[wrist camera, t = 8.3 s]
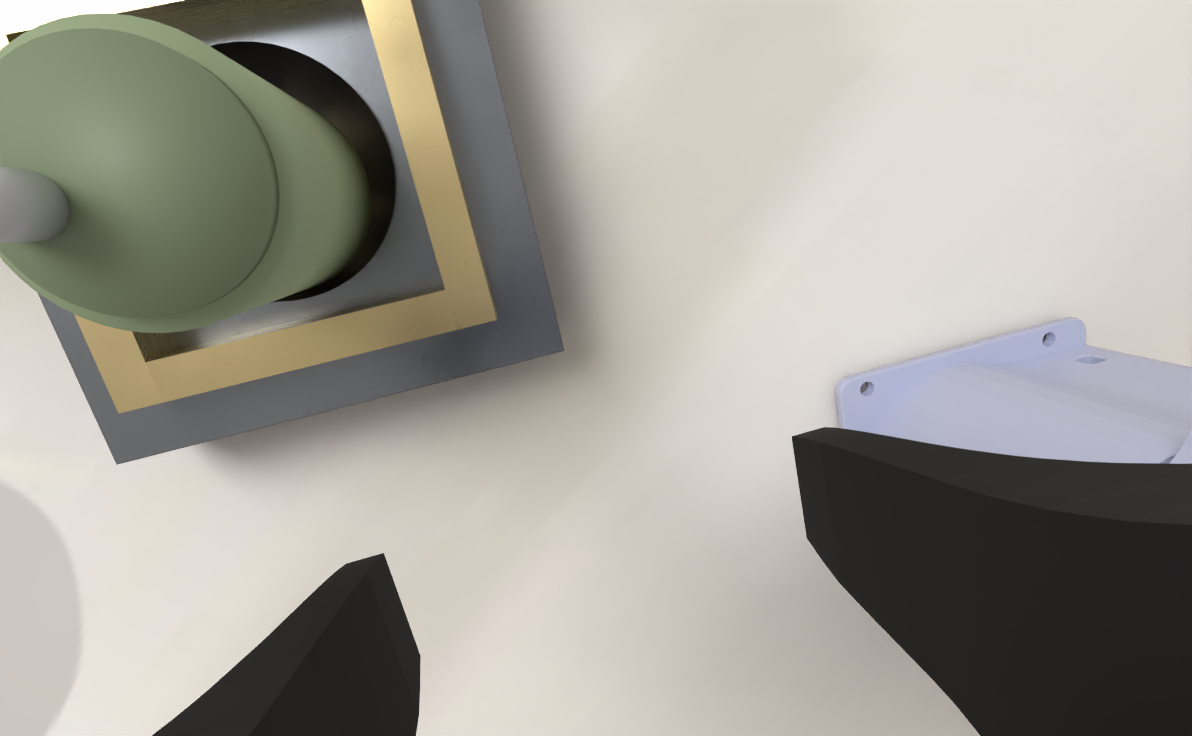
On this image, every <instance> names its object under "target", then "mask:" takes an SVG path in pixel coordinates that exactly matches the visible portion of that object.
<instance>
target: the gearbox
mask: <svg viewBox="0 0 1192 736" xmlns="http://www.w3.org/2000/svg"><path fill="white" fill-rule="evenodd" d="M99 13H110V14H120V15H131V16H135V17H140V18H144V19H149V20H153V21H156V22H159V23H162V24H165V25H168V26H171V27H173V28H176V29H178V30H180V31H182V32H185V33H187V34H189V35H191V36H193V37H195V38H197V39H199V40H200V41H202V42H204V43H205V44H207V45H209V46H210V47H212V48H213V49H215V50H217V51H218V52H220V53H222V54H223V55H225V56H226V57H228V58H230V59H231V60H233V61H235V62H236V63H238V64H240V65H241V66H243V67H244V68H246V69H248V70H249V71H251V72H253V73H254V74H256V75H257V76H259V77H261V78H262V79H264V80H266V81H267V82H269V83H270V84H272V85H274V86H275V87H277V88H279V89H280V90H282V91H284V92H285V93H287V94H288V95H290V96H292V97H293V98H295V99H297V100H298V101H300V102H301V103H303V104H305V105H306V106H308V107H310V108H311V109H313V110H314V111H316V112H318V113H319V114H321V115H322V116H324V117H325V118H327V119H328V120H329V121H330V122H331V123H333V124H334V125H335V126H336V127H337V128H338V129H339V130H340V131H341V132H342V133H343V134H344V135H345V136H346V137H347V139H348V140H349V141H350V143H351V144H352V145H353V147H354V148H355V150H356V152H357V153H358V155H359V157H360V158H361V161H362V163H363V165H364V168H365V170H366V173H367V176H368V180H369V183H370V189H371V195H372V213H371V221H370V225H369V230H368V233H367V236H366V238H365V241H364V243H363V245H362V247H361V248H360V250H359V252H358V254H357V255H356V256H355V257H354V259H353V260H352V261H351V263H350V264H349V265H348V266H347V267H345V268H344V269H343V270H342V271H341V272H340V273H338V274H337V275H336V276H334V277H333V278H331V279H329V280H327V281H326V282H324V283H322V284H319V285H317V286H314V287H311V288H308V289H306V290H303V291H300V292H297V293H295V294H292V295H289V296H286V297H284V298H281V299H278V300H275V301H273V302H270V303H267V304H265V305H262V306H259V307H256V308H254V309H251V310H248V311H245V312H243V313H240V314H237V315H234V316H232V317H229V318H226V319H223V320H221V321H218V322H215V323H212V324H210V325H207V326H204V327H200V328H196V329H191V330H187V331H180V332H170V333H141V332H134V331H127V330H120V329H116V328H112V327H108V326H104V325H100V324H98V323H95V322H92V321H90V320H87V319H84V318H82V317H79V316H77V315H75V314H73V313H71V312H69V311H67V310H65V309H63V308H61V307H59V306H58V305H56V304H54V303H53V302H51V301H50V300H48V299H47V298H45V297H43V296H42V295H40V294H39V293H38V294H39V297H40V299H41V301H42V303H43V305H44V307H45V310H46V312H47V314H48V316H49V318H50V320H51V323H52V325H53V327H54V329H55V331H56V334H57V336H58V338H59V340H60V342H61V344H62V347H63V349H64V351H65V353H66V355H67V357H68V360H69V362H70V364H71V366H72V368H73V370H74V373H75V375H76V377H77V379H78V381H79V384H80V386H81V388H82V390H83V392H84V394H85V397H86V399H87V401H88V403H89V405H90V407H91V410H92V412H93V414H94V416H95V418H96V421H97V423H98V425H99V427H100V429H101V431H102V434H103V436H104V438H105V440H106V442H107V444H108V447H109V449H110V451H111V453H112V455H113V458H114V460H115V462H116V464H121V463H125V462H129V461H133V460H137V459H141V458H144V457H148V456H152V455H156V454H160V453H164V452H168V451H172V450H176V449H180V448H184V447H188V446H192V445H196V444H199V443H203V442H207V441H211V440H215V439H219V438H223V437H227V436H231V435H235V434H239V433H243V432H247V431H251V430H255V429H258V428H262V427H266V426H270V425H274V424H278V423H282V422H286V421H290V420H294V419H298V418H302V417H306V416H310V415H313V414H317V413H321V412H325V411H329V410H333V409H337V408H341V407H345V406H349V405H353V404H357V403H361V402H365V401H369V400H372V399H376V398H380V397H384V396H388V395H392V394H396V393H400V392H404V391H408V390H412V389H416V388H420V387H424V386H427V385H431V384H435V383H439V382H443V381H447V380H451V379H455V378H459V377H463V376H467V375H471V374H475V373H479V372H483V371H486V370H490V369H494V368H498V367H502V366H506V365H510V364H514V363H518V362H522V361H526V360H530V359H534V358H538V357H542V356H545V355H549V354H553V353H557V352H561V351H564V348H563V344H562V339H561V335H560V331H559V327H558V323H557V319H556V315H555V311H554V307H553V303H552V299H551V295H550V290H549V286H548V282H547V278H546V274H545V270H544V266H543V262H542V258H541V254H540V250H539V246H538V241H537V237H536V233H535V229H534V225H533V221H532V217H531V213H530V209H529V205H528V201H527V197H526V192H525V188H524V184H523V180H522V176H521V172H520V168H519V164H518V160H517V156H516V152H515V148H514V143H513V139H512V135H511V131H510V127H509V123H508V119H507V115H506V111H505V107H504V103H503V99H502V95H501V90H500V86H499V82H498V78H497V74H496V70H495V66H494V62H493V58H492V54H491V50H490V46H489V41H488V37H487V33H486V29H485V25H484V21H483V17H482V13H481V9H480V5H479V1H478V0H0V50H1V49H2V48H3V47H5V46H6V45H7V44H9V43H10V42H11V41H13V40H14V39H16V38H17V37H18V36H20V35H21V34H23V33H25V32H27V31H29V30H31V29H33V28H35V27H37V26H39V25H41V24H44V23H48V22H51V21H54V20H57V19H60V18H64V17H70V16H76V15H81V14H99Z"/></svg>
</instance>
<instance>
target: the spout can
mask: <svg viewBox="0 0 1192 736" xmlns="http://www.w3.org/2000/svg"><path fill="white" fill-rule="evenodd" d="M371 213H372V195H371V189H370V183H369V180H368V176H367V173H366V170H365V168H364V165H363V163H362V161H361V158H360V157H359V155H358V153H357V152H356V150H355V148H354V147H353V145H352V144H351V143H350V141H349V140H348V139H347V137H346V136H345V135H344V134H343V133H342V132H341V131H340V130H339V129H338V128H337V127H336V126H335V125H334V124H333V123H331V122H330V121H329V120H328V119H327V118H325V117H324V116H322V115H321V114H319V113H318V112H316V111H314V110H313V109H311V108H310V107H308V106H306V105H305V104H303V103H301V102H300V101H298V100H297V99H295V98H293V97H292V96H290V95H288V94H287V93H285V92H284V91H282V90H280V89H279V88H277V87H275V86H274V85H272V84H270V83H269V82H267V81H266V80H264V79H262V78H261V77H259V76H257V75H256V74H254V73H253V72H251V71H249V70H248V69H246V68H244V67H243V66H241V65H240V64H238V63H236V62H235V61H233V60H231V59H230V58H228V57H226V56H225V55H223V54H222V53H220V52H218V51H217V50H215V49H213V48H212V47H210V46H209V45H207V44H205V43H204V42H202V41H200V40H199V39H197V38H195V37H193V36H191V35H189V34H187V33H185V32H182V31H180V30H178V29H176V28H173V27H171V26H168V25H165V24H162V23H159V22H156V21H153V20H149V19H144V18H140V17H135V16H131V15H120V14H110V13H99V14H81V15H76V16H70V17H64V18H60V19H57V20H54V21H51V22H48V23H44V24H41V25H39V26H37V27H35V28H33V29H31V30H29V31H27V32H25V33H23V34H21V35H20V36H18V37H17V38H16V39H14V40H13V41H11V42H10V43H9V44H7V45H6V46H5V47H3V48H2V49H1V50H0V257H1V258H2V259H3V261H4V262H5V263H6V264H7V265H8V266H9V267H10V268H11V269H12V270H13V271H14V272H15V273H16V274H17V275H18V276H19V277H20V278H21V279H22V280H23V281H24V282H25V283H27V284H28V285H29V286H30V287H32V288H33V289H34V290H35V291H37V292H38V293H39V294H40V295H42V296H43V297H45V298H47V299H48V300H50V301H51V302H53V303H54V304H56V305H58V306H59V307H61V308H63V309H65V310H67V311H69V312H71V313H73V314H75V315H77V316H79V317H82V318H84V319H87V320H90V321H92V322H95V323H98V324H100V325H104V326H108V327H112V328H116V329H120V330H127V331H134V332H141V333H170V332H180V331H187V330H191V329H196V328H200V327H204V326H207V325H210V324H212V323H215V322H218V321H221V320H223V319H226V318H229V317H232V316H234V315H237V314H240V313H243V312H245V311H248V310H251V309H254V308H256V307H259V306H262V305H265V304H267V303H270V302H273V301H275V300H278V299H281V298H284V297H286V296H289V295H292V294H295V293H297V292H300V291H303V290H306V289H308V288H311V287H314V286H317V285H319V284H322V283H324V282H326V281H327V280H329V279H331V278H333V277H334V276H336V275H337V274H338V273H340V272H341V271H342V270H343V269H344V268H345V267H347V266H348V265H349V264H350V263H351V261H352V260H353V259H354V257H355V256H356V255H357V254H358V252H359V250H360V248H361V247H362V245H363V243H364V241H365V238H366V236H367V233H368V230H369V225H370V221H371Z"/></svg>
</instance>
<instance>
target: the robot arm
mask: <svg viewBox="0 0 1192 736" xmlns="http://www.w3.org/2000/svg"><path fill="white" fill-rule="evenodd" d="M1045 334H1046V340H1045V341H1044V342H1042V340H1043V337H1044V335H1045ZM865 382H867V383H868V387H867V389H866V391H865V392H863V393H861V392H860V388H861V386H862V384H863V383H865ZM835 396H836V403H837V411H838V419H839V426H840V428H827V427H824V428H820V429H817V430H813V431H810V432H806V433H803V434H799V435H796V436H792V441H793V448H794V455H795V462H796V468H797V475H798V482H799V488H800V495H801V502H802V509H803V515H804V522H805V529H806V535H807V539H808V540H809V542H810V543H811V545H812V546H813V548H814V549H815V550H816V552H817V553H818V555H819V556H820V557H821V559H822V560H823V562H824V563H825V564H826V566H827V567H828V568H829V570H830V571H831V572H832V574H833V575H834V576H835V578H836V579H837V580H838V582H839V583H840V584H841V585H842V586H843V587H844V588H845V589H846V590H847V591H848V593H849V594H850V595H851V596H852V597H853V598H854V599H855V600H856V601H857V602H858V603H859V604H860V605H861V606H862V607H863V608H864V609H865V610H866V611H867V612H868V613H869V615H870V616H871V617H872V618H873V619H874V620H875V621H876V622H877V623H878V624H879V625H880V626H881V627H882V628H883V629H884V630H885V631H886V632H887V633H888V634H889V635H890V636H891V637H892V638H893V639H894V640H895V641H896V642H897V643H898V644H899V645H900V646H901V647H902V648H903V649H904V650H905V652H906V653H907V654H908V655H909V656H910V657H911V658H912V659H913V660H914V661H915V662H916V663H917V664H918V665H919V666H920V667H921V668H922V669H923V670H924V671H925V672H926V673H927V674H928V675H929V676H930V677H931V678H932V679H933V680H934V681H935V682H936V684H937V685H938V686H939V687H940V688H941V689H942V690H943V691H944V692H945V694H946V695H947V696H948V697H949V698H950V699H951V700H952V701H953V702H954V704H955V705H956V706H957V707H958V708H959V709H960V711H961V712H962V713H963V714H964V716H965V717H966V718H967V719H968V721H969V722H970V723H971V724H972V726H973V727H974V728H975V729H976V731H977V732H978V733H979V734H980V736H1192V367H1187V366H1182V365H1178V364H1173V363H1168V362H1164V361H1159V360H1154V359H1149V358H1145V357H1140V356H1135V355H1130V354H1126V353H1121V352H1116V351H1112V350H1107V349H1102V348H1097V347H1093V346H1088V345H1086V333H1085V325H1084V323H1083V322H1082V321H1081V320H1079V319H1076V318H1063V319H1059V320H1055V321H1051V322H1048V323H1044V324H1040V325H1037V326H1033V327H1029V328H1025V329H1022V330H1018V331H1014V332H1011V333H1007V334H1003V335H999V336H996V337H992V338H988V339H985V340H981V341H977V342H973V343H970V344H966V345H962V346H959V347H955V348H951V349H947V350H944V351H940V352H936V353H933V354H929V355H925V356H921V357H918V358H914V359H910V360H907V361H903V362H899V363H896V364H892V365H888V366H884V367H881V368H877V369H873V370H870V371H866V372H862V373H858V374H855V375H851V376H847V377H845V378H843V379H841V380H840V381H839V382H838V384H837V386H836V389H835ZM419 697H420V654H419V651H418V648H417V645H416V643H415V640H414V637H413V634H412V631H411V629H410V626H409V623H408V620H407V617H406V615H405V612H404V609H403V606H402V603H401V601H400V598H399V595H398V592H397V589H396V586H395V584H394V581H393V578H392V575H391V572H390V570H389V567H388V564H387V561H386V558H385V556H384V553H382V554H379V555H375V556H372V557H368V558H365V559H361V560H358V561H354V562H351V563H347V564H345V565H344V566H343V567H341V568H340V569H339V570H337V571H336V572H335V573H334V574H333V575H332V576H330V577H329V578H328V579H327V580H326V581H325V582H324V583H323V584H322V585H321V586H320V587H318V588H317V589H316V590H315V591H314V592H313V593H312V594H311V595H310V596H309V597H308V598H307V599H306V600H305V601H304V602H303V603H302V604H301V605H300V606H299V607H298V608H297V609H296V610H295V611H294V612H293V613H291V614H290V615H289V616H288V617H287V618H286V619H285V620H284V621H283V622H282V623H281V624H280V625H279V626H278V627H277V628H276V629H275V630H274V631H273V632H272V633H271V634H270V635H269V636H268V637H267V638H265V639H264V640H263V641H262V642H261V643H260V644H259V645H258V646H257V647H256V648H255V649H253V650H252V651H251V652H250V653H249V654H248V655H247V656H246V657H245V658H243V659H242V660H241V661H240V662H239V663H238V664H237V665H236V666H235V667H233V668H232V669H231V670H230V671H229V672H228V673H227V674H226V675H225V676H223V677H222V678H221V679H220V680H219V681H218V682H217V683H216V684H215V685H213V686H212V687H211V688H210V689H209V690H208V691H207V692H206V693H204V694H203V695H202V696H201V697H200V698H198V699H197V700H196V701H195V702H194V703H192V704H191V705H190V706H189V707H188V708H186V709H185V710H184V711H183V712H181V713H180V714H179V715H178V716H177V717H175V718H174V719H173V720H172V721H170V722H169V723H168V724H166V725H165V726H164V727H163V728H161V729H160V730H159V731H157V732H156V733H155V734H154V735H152V736H416V730H417V723H418V717H419Z"/></svg>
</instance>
